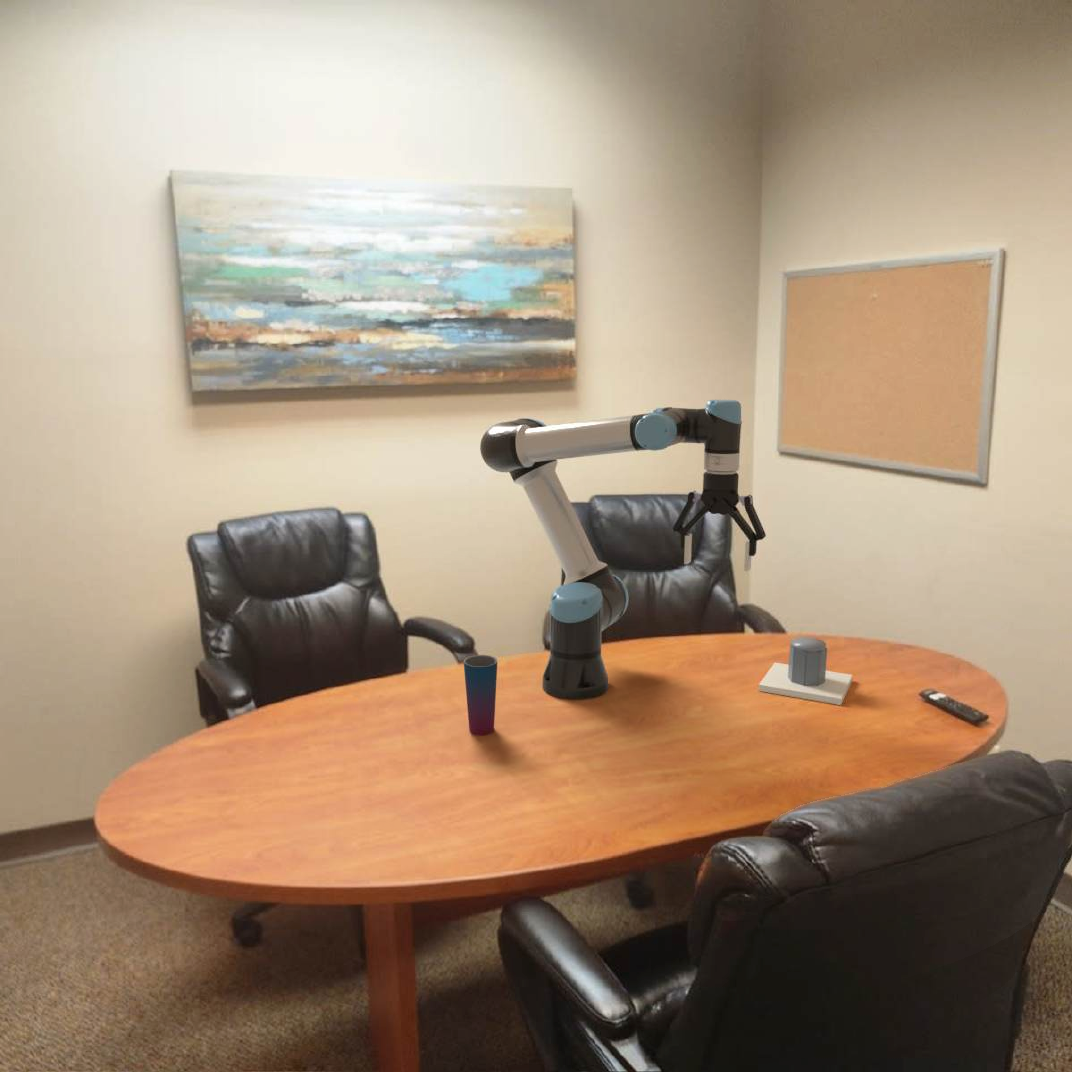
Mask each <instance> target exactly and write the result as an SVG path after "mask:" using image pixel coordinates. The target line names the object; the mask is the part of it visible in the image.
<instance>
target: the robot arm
mask: <svg viewBox="0 0 1072 1072" xmlns="http://www.w3.org/2000/svg"><path fill="white" fill-rule="evenodd" d="M705 404H706V405H705V407H704V408H686V407H685V408H681V407H672V406H671V407H670V406H668V407H657V408H654V409H653V411H652V412H648V413H641V414H636V415H634V414H633V415H626V416H617V417H611V418H604V419H603V418H602V419H595V420H586V421H578V422H571V423H570V422H569V423H562V424H556V425H555V424H554V425H546V424H545V423H544V422H542V421H540V420H538V419H534V418H524V417H523V418H518V419H515V420H510V421H502V422H498V423H496V424H493V425H492V426H490V427H489V428H488V429H486V431H485V433H483V435H482V438H481V440H480V446H479V447H480V450H479V451H480V455H481V457H482V460H483V461H484V463H485V465H487V466H488V467H489V468H490V469H492V470H494V471H496V472H499V473H509V475H510V477H511V479H512V481H513V483H514V484H516V485H519V486H521V487H523V489H524V492H525V493H526V496H527V498H528V499H529V502H530V503H531V504H530V505H531V506H532V508H533V511H534V512H535V514H536V517H537V519H538V520H539V523H540V524H541V526H542V528H543V530H544V533H545V535H546V537H547V540H548V541H549V543H550V545H551V547H552V549H553V551H554V554H555V556H556V557H557V559H558V562H559V563H560V566H561V568H562V570H563V572H564V575H565V579H564V582H563V584H562V585H559V586H558V587H556V588H555V589H554V590H553V591H552V593H551V594H550V603H549V622H550V623H549V626H550V627H549V631H550V632H549V633H550V634H549V637H550V638H549V641H550V643H549V651H550V652H549V653H550V655H549V658H548V661H547V663H546V666H545V668H544V672H543V676H542V689H543V691H544V692H546V693H547V694H548V695H550V696H554V697H557V698H559V699H566V700H567V699H569V700H587V699H593V698H596V697H599V696H602V695H604V694H605V693H607V692H608V690H609V677H608V673H607V669H606V667H605V663H604V661H603V660H604V659H603V657H602V632H603V631H605V630H606V629H607V628H609V627H610V626H611V625H613V624H615V623H616V622H618V621H619V620H620V619H621V617H622V616H623V615H624V614H625V612H626V610H627V609H628V605H629V591H628V588H627V586H626V584H625V583H624V581H623V580H622V579H621V578H620V577H618V576H616V575H614V574H612V572H611V569H610V568H609V565H608V564H607V563H605V562H602V561H601V560H599V559H598V557H597V555H596V553H595V551H594V549H593V547H592V545H591V542H590V540H589V539H588V536H587V535H586V532H585V530H584V527H583V525H582V524H581V522H580V520H579V518H578V516H577V514H576V512H575V510H574V507H573V505H572V504H571V501H570V500H569V497H568V495H567V493H566V491H565V489H564V486H563V484H562V483H561V481H560V478H559V476H558V474H557V472H556V468H557V466H558V462H559V461H558V460H565V459H575V458H583V457H592V456H593V457H594V456H600V455H601V456H602V455H613V454H619V453H629V452H630V453H631V452H637V451H661V450H665V449H667V448H668V447H671V446H674V445H677V444H704V450H703V452H704V453H703V458H704V459H703V469H704V471H705V472H704V473H703V474H702V475H703V477H702V478H703V480H702V492H697V491H696V490H692V491H689V492H688V494H687V500H686V504H685V505H684V506H683V509H682V510H681V512H680V514H679V516H678V518H677V520H676V522H675V523H674V525H673V527H672V530H673V532H676V533H678V534H679V535H680V549H682V550H684V552H683V553H684V555H683V556H684V557H683V564H684V565H688V564H690V563H691V562H692V545H693V540H692V539H693V533H690V531H691V530H692V529H693V528H694V527H695V526H696V525H697V523H699V522H700V521H701V520H702V518H704V517H705V516H706V514H708V513H710V514H711V515H712V514H713V515H715V514H717V515H718V514H719V515H722V516H723V515H724V516H726V515H729V516H730V518H731V519H732V520H734V522H735V523H736V525H737V526H738V527H739V529H740V530H741V532H743V534H744V535H745V537H746V538H747V540H746V541H745V548H744V567H743V571H744V572H749V571H750V570H751V567H752V557H754V556H756V555H757V542H758V541H762V540H763V539H765V538H766V536H767V535H766V532H765V529H764V528H763V524H762V523H761V519H760V517H759V516H758V513H757V511H756V509H755V506H754V502H753V501H754V500H753V499H754V497H753V495H751V494H748V495H739V473H738V471H739V470H740V450H741V449H740V448H741V433H742V423H743V421H742V405H741V403H740V402H739V401H738V400H735V399H709V400H707V401H706V403H705ZM699 499H700V501H701V502H702V503H703V506H702V507H701V509H700V510H699V511H698V512H697V513H696V514H695V516H693V517H692V518H691V519H690V520H689V521H688V523H687V524H685V526H684V523H685V522H686V520H687V518H688V516H689V515H690V513H691V511H692V509H693V507H694V505H695V504H696V503H697V502H698V501H699ZM739 503H741V505H742V507H744V509H745V511H746V514H747V516H748V518H749V522H750V523H751V525H752V527H751V526H750V524H749V523H748V522H747V521H746V519H745V518H744V516H743V515H742V514H741V512H740V510H739V509H738V507H737V505H738V504H739Z"/></svg>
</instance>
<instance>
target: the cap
mask: <svg viewBox="0 0 1072 1072" xmlns="http://www.w3.org/2000/svg"><path fill="white" fill-rule="evenodd" d="M788 652H789V653H788V656H789V657H788V665H789V668H788V678H789V679H790V681H791V682H792V683H796V684H799V685H803V686H819V685H821V684H823V683H824V682H825V673H826V671H827V656H828V648H827V643H826V642H825V641H824V640H822V639H819V638H817V637H816V638H815V637H810V636H809V637H807V636H799V637H794V638H792V639H791V643H790V644H789V651H788Z"/></svg>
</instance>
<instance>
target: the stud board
mask: <svg viewBox="0 0 1072 1072" xmlns="http://www.w3.org/2000/svg"><path fill="white" fill-rule="evenodd" d="M788 668H789V664H787V663H779V662H774V663H773V664H772V665H771V667H770V669H768V671H767V672H766V674H765V675H764V677H763V678H762V679H761V681H760V682H759V683H758V692H764V693H769V694H774V695H780V696H787V697H792V698H797V699H804V700H809V701H815V702H820V703H827V704H831V705H838V706H842V703H843V702H844V699H845V698H846V695H847V693H848V691H849V689H850V686H851V684H852V682H853V674H849V673H843V672H836V671H831V670H826V673H825V682H824V683H823V684H821V685H819V686H803V685H799V684H796V683H792V682H791V681H790V679H789V678H788Z"/></svg>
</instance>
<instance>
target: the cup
mask: <svg viewBox="0 0 1072 1072" xmlns="http://www.w3.org/2000/svg"><path fill="white" fill-rule="evenodd" d="M463 668H464V682H465V692H466V704H467V705H466V706H467V717H468V729H469V732H470V734H472V735H475V736H486V735H490V734H492V733H493V732H494V730H495V716H496V696H497V695H496V694H497V680H498V679H497V677H498V676H497V675H498V658H496V657H495V656H492V655H488V654H487V655H486V654H475V655H470V656H468V657H465V658H464V660H463Z"/></svg>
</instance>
